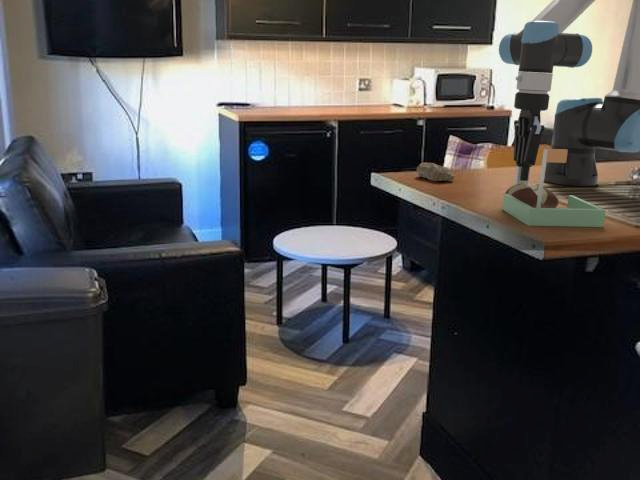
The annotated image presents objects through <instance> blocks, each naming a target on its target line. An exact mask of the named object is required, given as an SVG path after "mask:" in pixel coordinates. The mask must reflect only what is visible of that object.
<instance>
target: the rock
mask: <svg viewBox="0 0 640 480" xmlns="http://www.w3.org/2000/svg"><path fill="white" fill-rule="evenodd" d="M416 174H417V175H418V176H419V178H421V177H423V178H422V179H425V178H427V180H428V181H431V182H441V181H442V182H446V181H447V182H448V183H452V182H453V181H454V179H455V174H454V173H452V171H451V170H450V169H449V168H447V167H446V166H442V165H439V164H436V163H434V162H422V163H419V165H417V167H416Z"/></svg>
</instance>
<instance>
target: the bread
mask: <svg viewBox="0 0 640 480" xmlns="http://www.w3.org/2000/svg"><path fill="white" fill-rule="evenodd" d="M538 191H539V183H536V184H532V185H530V186H529V185H528V186H526V185H525V184H518V185H515V186H514V185H512V186H510V187H509V188H508V189H507V190H506V191H505V192H504V194H509V195H511V196H513V197H515V198H516V199H518V200H520V201H522V202H523V203H525V204H527V205H529V206H531V207H532V208H536V206H537V199H538ZM558 205H559V198H558V197H557V195H556V194H555V193H554V192H552V191H550V189H547V188H546V187H543V192H542V200H541V208H558Z"/></svg>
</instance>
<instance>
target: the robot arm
mask: <svg viewBox="0 0 640 480" xmlns="http://www.w3.org/2000/svg"><path fill="white" fill-rule="evenodd" d="M595 2H596V0H552V1H551V2H550V3H548V5H547V6H546V7H545V8H543V10H542V11H540V13H538V14H537V16H535V17H534V18H533V19H532V20H529V21H527V22H526V23H525V24H524V25H523V29H522V30H520V31H519V32H518V33H517V32H512V33H508V34H506V35H504V36H503V37H502V38H501V40H500V42H499V45H498V54H499V58H500V59H501V61H502V62H504V63H505V64H507V65H508V64H509V65H515V66H518V71H517V72H518V73H517V76H516V77H515V81H516V90H517V91H518V92H516V93H515V94H514V105H513V107H514V109H516V110H520V112H519V114H518V115H519V116H518V119H516V120H514V121H513V127H514V134H513V140H514V141H513V161H514V162H515V165H516V169H515V170H516V171H515V176H514V184H513V186H515V185H518V184H525V185H526V186H528V187H529V179H530V171H531V168H532V166H535V165H536V162H537V156H538V152H539V149H540V144H541V140H542V135H543V134H544V131H545V125H541V121H542V120H541V119H542V117H541V111H542V112H543V111H547V110H548V109H549V103H550V97H551V96H550V95H549V94H548V93H549V92H551V90H552V82H553V75H554V74H553V72H554V67H561V68H562V67H563V68H571V69H573V68H579V67H583V66H585V65H586V64H587V63H588V62H589V61H590V59H591V57H592V54H593V43H592V41H591V39H590V38H589V37H588V36H587V35H583V34H580V33H568V32H564V31H565V30H567V28H568V27H570V26H571V25H572V24H573V23H574V22H575V21H576V20H577V19H578V18H579V17H580V16H581V15H583V13H584V12H585V11H586V10H587V9H588V8H589V7H591V5H592V4H593V3H595ZM627 20H628V22H627V25H626V30H625V35H624V38H623V39H624V40H623V42H622V46H621V52H620V56H619V61H618V64H617V69H616V74H615V78H614V83H613V87H612V90H611V91H609V92H607V94H605V95H604V99H602V97H585V98H584V97H583V98H581V97H580V98H578V97H577V98H567V99H561V100H560V101H559V102H557V106H556V109H555V113H554V120H553V121H554V122H553V131H552V136H551V137H552V138H551V146H550V149H567V150H568V152H567V160H566V163H555V162H546V169H545V177H544V182H547V183H550V184H555V185H556V184H557V185H564V186H572V185H573V186H574V187H591V186H597V185H598V180H599V174H598V168H597V162H596V157H595V154H596V148H597V149H601V150H608V151H609V150H610V151H616V152H619V153H638V152H640V0H632V4H631V8H630V13H629V17H628V19H627ZM596 184H597V185H596Z"/></svg>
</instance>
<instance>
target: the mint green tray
mask: <svg viewBox="0 0 640 480" xmlns="http://www.w3.org/2000/svg"><path fill="white" fill-rule="evenodd" d="M567 152H568V150H567V149H551V148H543V153H542V161H541V167H540V176H539V177H540V178H539V183H538V184H539V191H538V199H537V206H536V208H532V207H531V206H529V205H527V204H525V203H523V202H522V201H520V200H518V199H516V198H515V197H513V196H511V195H509V194H505V193H503V198H502V206H501V207H502V208H501V209H502V210H503V211H504V212H506V213H507V214H509V215H511V216H512V217H514V218H515V219H516V220H518V221H520V222H522V223H523V224H524V225H526V226H530V227H531V226H537V227H574V228H575V227H579V228H580V227H581V228H582V227H583V228H585V227H587V228H589V227H590V228H604V224H605V223H604V222H605V217H606V212H607V211H606V209H604V208H601V207H599V206H597V205H595V204H593V203H591V202H588V201H586V200H584V199H582V198H579V197H577V196H575V195H572V194H571V195H568V199H567V205H566V208H564V207H561V208H559V207H556V208H541V200H542V192H543V188H544V184H545V181H544V177H545V169H546V162H555V163H566V160H567Z"/></svg>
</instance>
